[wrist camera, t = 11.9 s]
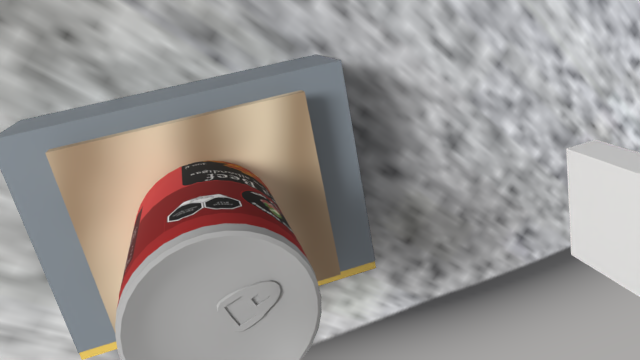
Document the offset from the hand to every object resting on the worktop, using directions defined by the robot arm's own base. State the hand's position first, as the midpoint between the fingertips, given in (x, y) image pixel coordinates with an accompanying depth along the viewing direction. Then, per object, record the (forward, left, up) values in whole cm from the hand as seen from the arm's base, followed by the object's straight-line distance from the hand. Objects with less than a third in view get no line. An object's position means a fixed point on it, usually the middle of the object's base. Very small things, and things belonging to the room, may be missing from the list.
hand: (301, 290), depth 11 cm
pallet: (+2, +5, -21) cm, 22 cm away
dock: (+2, +5, -27) cm, 28 cm away
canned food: (+2, +5, -19) cm, 20 cm away
